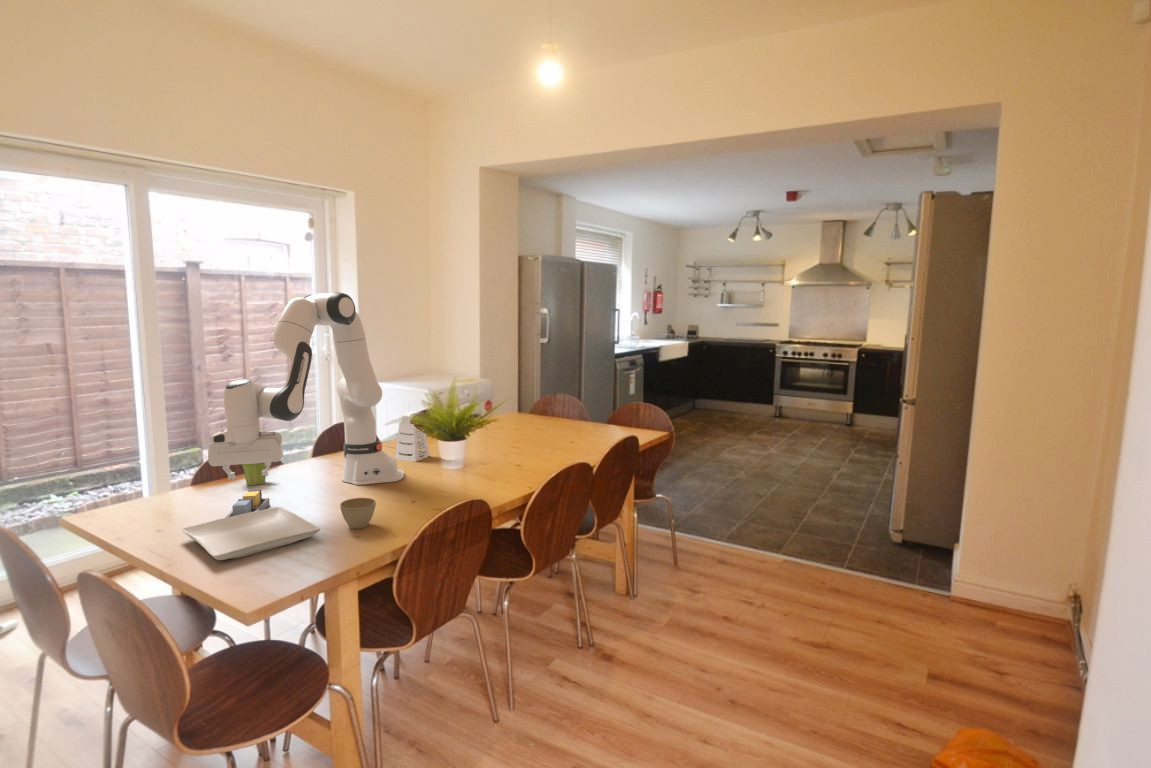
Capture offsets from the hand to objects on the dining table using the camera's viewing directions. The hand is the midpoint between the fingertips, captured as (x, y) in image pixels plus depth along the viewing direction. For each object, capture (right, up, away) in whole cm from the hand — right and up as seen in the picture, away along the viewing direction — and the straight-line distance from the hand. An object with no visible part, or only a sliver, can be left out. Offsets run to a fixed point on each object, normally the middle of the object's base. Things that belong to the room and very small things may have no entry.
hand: (248, 477), depth 185 cm
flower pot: (+36, -14, -6) cm, 39 cm away
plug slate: (0, -12, -2) cm, 12 cm away
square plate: (+10, -15, -17) cm, 25 cm away
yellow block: (-2, -10, +7) cm, 13 cm away
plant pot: (-17, -8, +36) cm, 40 cm away
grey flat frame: (-1, -12, +2) cm, 12 cm away
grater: (+30, -4, +75) cm, 81 cm away
